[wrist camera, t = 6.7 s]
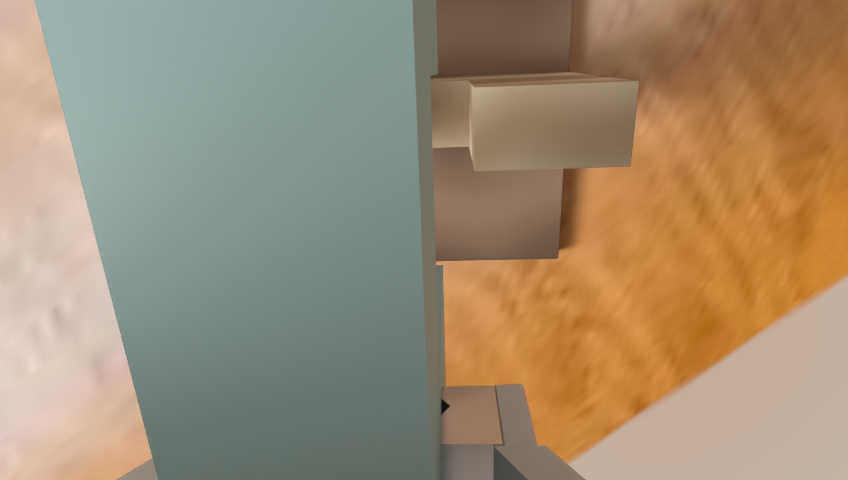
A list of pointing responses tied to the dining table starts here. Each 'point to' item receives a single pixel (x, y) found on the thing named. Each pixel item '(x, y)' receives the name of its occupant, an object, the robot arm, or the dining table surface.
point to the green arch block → (265, 226)
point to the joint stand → (515, 126)
